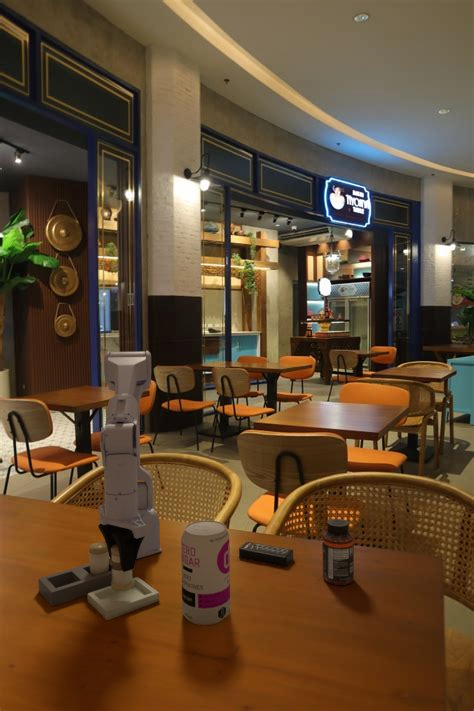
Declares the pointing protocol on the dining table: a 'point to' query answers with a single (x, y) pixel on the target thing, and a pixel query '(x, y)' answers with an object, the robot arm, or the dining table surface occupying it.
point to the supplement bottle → (338, 553)
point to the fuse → (98, 558)
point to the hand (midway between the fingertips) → (122, 565)
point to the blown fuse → (119, 573)
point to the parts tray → (122, 599)
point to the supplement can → (205, 572)
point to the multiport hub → (266, 554)
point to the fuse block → (72, 584)
